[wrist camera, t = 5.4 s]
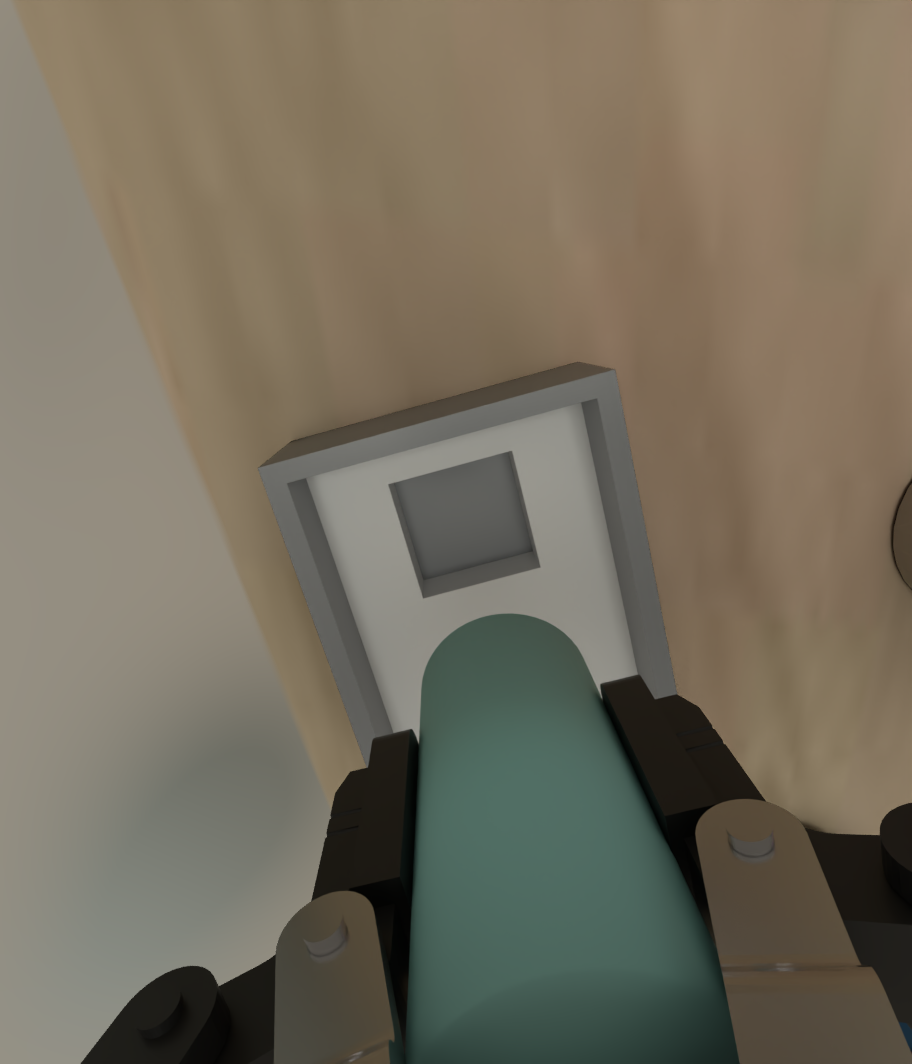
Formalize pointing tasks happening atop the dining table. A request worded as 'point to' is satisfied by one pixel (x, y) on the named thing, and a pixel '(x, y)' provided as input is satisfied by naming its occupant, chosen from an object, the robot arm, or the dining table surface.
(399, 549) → the bin
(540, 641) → the peg
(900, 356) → the dining table surface
